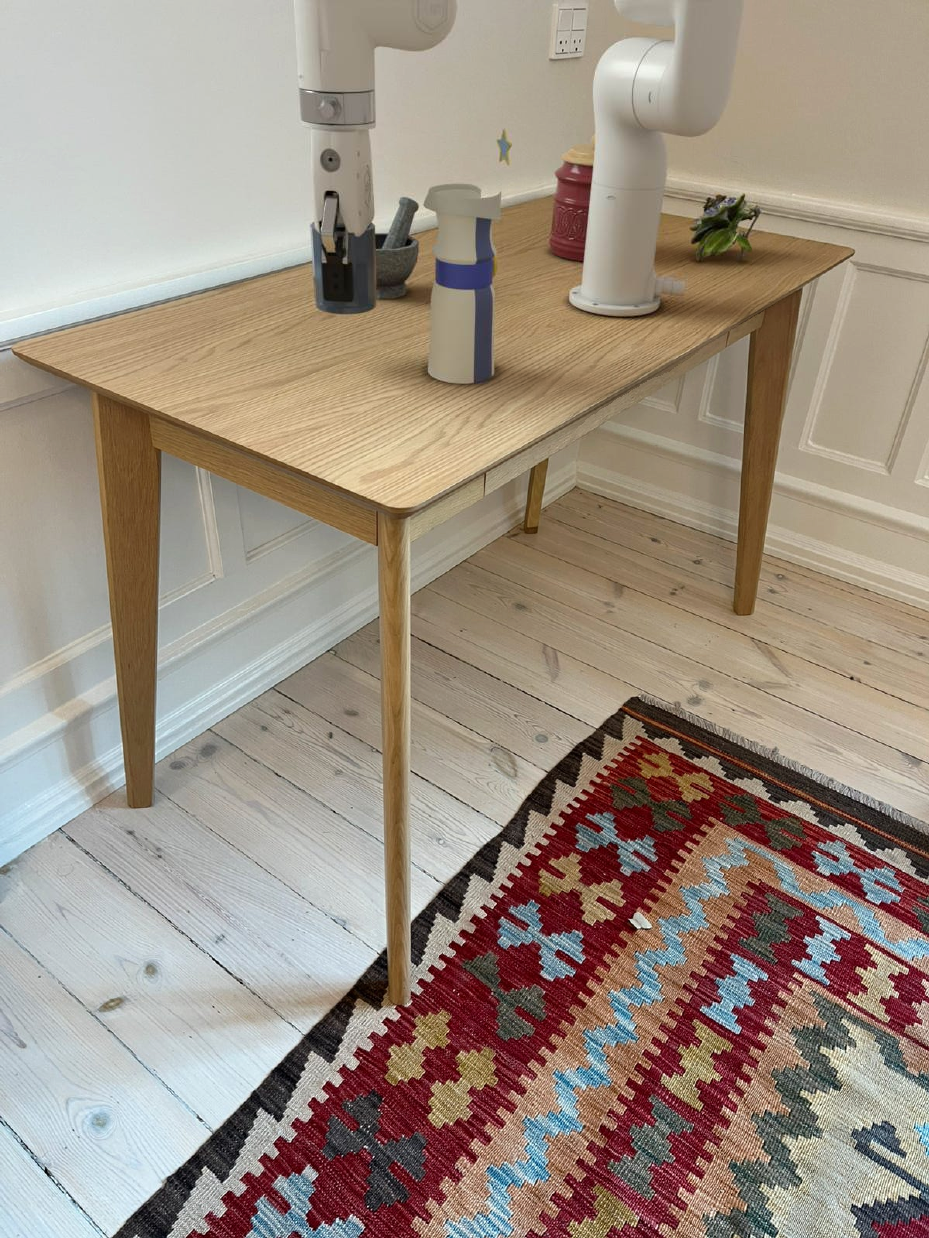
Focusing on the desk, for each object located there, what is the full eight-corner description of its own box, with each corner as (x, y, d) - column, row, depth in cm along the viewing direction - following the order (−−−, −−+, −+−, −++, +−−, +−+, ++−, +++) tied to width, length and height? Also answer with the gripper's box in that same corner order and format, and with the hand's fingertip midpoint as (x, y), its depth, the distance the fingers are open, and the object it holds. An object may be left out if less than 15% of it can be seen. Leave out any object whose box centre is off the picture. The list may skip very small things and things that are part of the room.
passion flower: (700, 283, 158) (724, 216, 158) (757, 286, 151) (783, 215, 150) (668, 252, 150) (693, 180, 149) (727, 253, 143) (754, 177, 142)
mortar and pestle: (380, 307, 126) (378, 212, 119) (335, 291, 131) (331, 200, 124) (439, 291, 133) (440, 201, 126) (394, 277, 138) (392, 189, 131)
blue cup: (380, 298, 107) (379, 219, 102) (370, 316, 101) (368, 234, 96) (322, 294, 107) (318, 216, 102) (309, 312, 102) (304, 231, 97)
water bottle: (460, 352, 112) (466, 120, 98) (511, 372, 107) (525, 131, 93) (409, 368, 108) (407, 127, 93) (460, 389, 103) (467, 138, 88)
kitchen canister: (632, 265, 147) (648, 141, 136) (550, 262, 147) (560, 138, 136) (622, 244, 157) (637, 127, 147) (546, 241, 157) (555, 125, 147)
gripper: (359, 124, 86) (365, 317, 96) (388, 101, 100) (390, 271, 110) (279, 120, 86) (293, 312, 96) (319, 98, 100) (328, 268, 110)
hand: (345, 289), depth 103 cm, fingers closed on blue cup, 6 cm apart
